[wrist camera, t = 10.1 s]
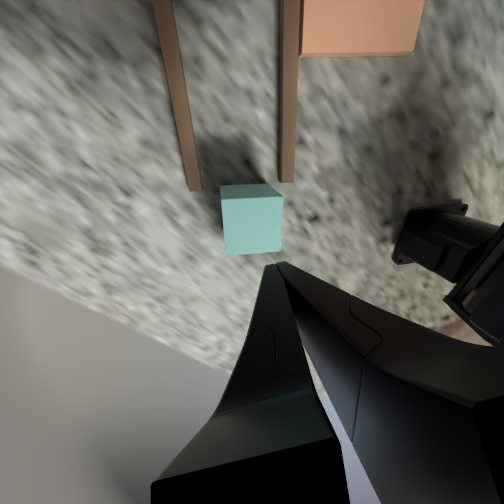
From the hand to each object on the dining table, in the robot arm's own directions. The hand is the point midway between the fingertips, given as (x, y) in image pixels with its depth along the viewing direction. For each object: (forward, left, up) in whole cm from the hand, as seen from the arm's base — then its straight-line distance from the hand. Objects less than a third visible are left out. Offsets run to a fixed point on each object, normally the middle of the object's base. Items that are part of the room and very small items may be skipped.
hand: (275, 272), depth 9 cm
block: (0, 0, -11) cm, 11 cm away
